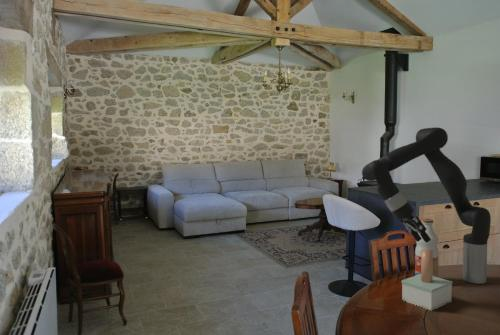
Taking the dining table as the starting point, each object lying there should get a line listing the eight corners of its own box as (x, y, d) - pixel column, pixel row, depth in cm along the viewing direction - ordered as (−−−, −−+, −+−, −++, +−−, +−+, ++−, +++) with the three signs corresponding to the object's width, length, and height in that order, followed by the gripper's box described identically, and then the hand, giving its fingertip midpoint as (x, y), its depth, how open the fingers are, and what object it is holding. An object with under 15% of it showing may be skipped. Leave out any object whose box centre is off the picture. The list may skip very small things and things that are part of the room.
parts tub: (422, 292, 159) (422, 275, 159) (451, 301, 149) (451, 284, 149) (402, 300, 151) (402, 283, 151) (431, 311, 141) (431, 292, 141)
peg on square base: (422, 279, 159) (422, 244, 158) (452, 287, 149) (452, 251, 148) (401, 286, 151) (401, 250, 150) (431, 296, 141) (432, 257, 140)
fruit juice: (442, 285, 167) (443, 221, 165) (420, 285, 167) (421, 221, 165) (431, 277, 176) (432, 217, 175) (411, 278, 176) (411, 217, 175)
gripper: (413, 199, 144) (440, 236, 142) (400, 201, 158) (424, 234, 156) (397, 210, 144) (423, 247, 141) (385, 211, 158) (409, 245, 156)
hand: (423, 240), depth 149 cm, fingers open, 8 cm apart
